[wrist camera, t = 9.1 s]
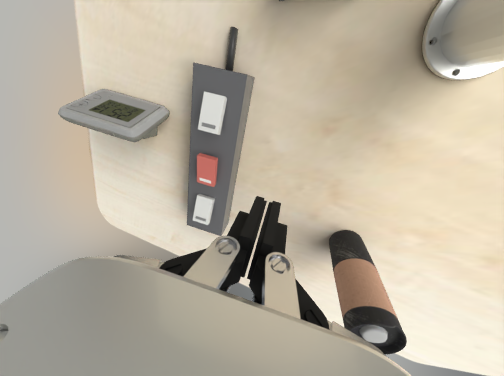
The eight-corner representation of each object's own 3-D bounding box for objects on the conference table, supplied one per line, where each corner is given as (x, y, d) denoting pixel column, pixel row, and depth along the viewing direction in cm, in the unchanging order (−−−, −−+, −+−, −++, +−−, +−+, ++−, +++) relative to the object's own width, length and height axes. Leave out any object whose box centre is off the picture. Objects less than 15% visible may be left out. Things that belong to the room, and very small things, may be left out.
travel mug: (326, 252, 46) (342, 348, 29) (329, 227, 43) (349, 318, 26) (360, 255, 44) (399, 360, 27) (366, 230, 41) (415, 330, 24)
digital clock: (175, 110, 39) (136, 115, 30) (167, 147, 43) (131, 162, 34) (106, 73, 39) (45, 67, 29) (105, 115, 43) (52, 121, 34)
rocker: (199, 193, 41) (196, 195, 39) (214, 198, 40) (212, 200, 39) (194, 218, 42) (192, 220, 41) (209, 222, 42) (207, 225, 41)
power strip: (208, 24, 31) (194, 12, 27) (261, 35, 30) (255, 24, 26) (196, 213, 50) (186, 224, 46) (228, 223, 49) (221, 236, 45)
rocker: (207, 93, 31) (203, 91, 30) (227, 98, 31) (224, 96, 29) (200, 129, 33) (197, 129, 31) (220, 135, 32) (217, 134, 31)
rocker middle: (200, 152, 35) (196, 155, 34) (217, 157, 35) (215, 160, 34) (199, 179, 38) (196, 182, 37) (216, 184, 38) (213, 187, 37)
